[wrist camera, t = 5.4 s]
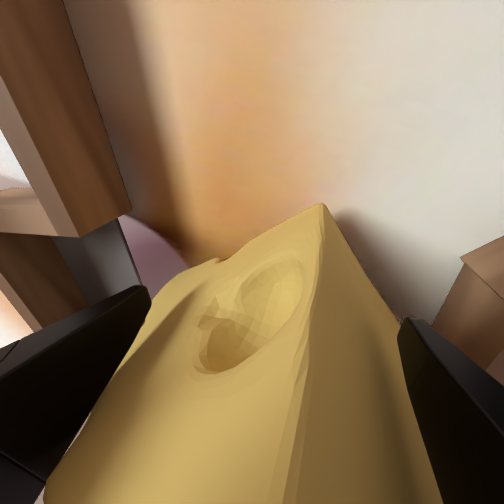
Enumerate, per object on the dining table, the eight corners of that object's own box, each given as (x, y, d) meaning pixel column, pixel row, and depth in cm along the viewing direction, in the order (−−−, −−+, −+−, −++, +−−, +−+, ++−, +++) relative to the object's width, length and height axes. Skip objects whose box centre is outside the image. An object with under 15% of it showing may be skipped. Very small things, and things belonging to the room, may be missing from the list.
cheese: (176, 270, 15) (-9, 475, 7) (335, 181, 9) (293, 1000, 1) (267, 366, 18) (211, 579, 10) (429, 349, 12) (600, 843, 4)
